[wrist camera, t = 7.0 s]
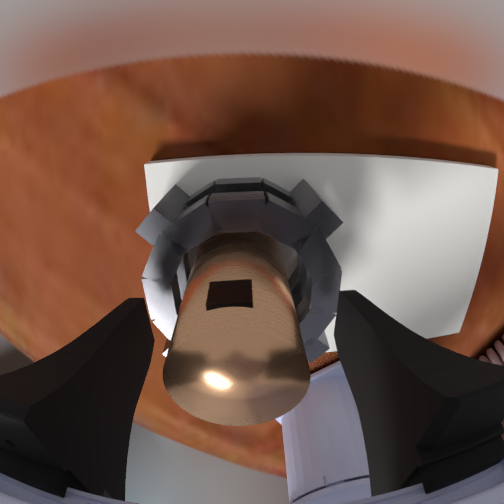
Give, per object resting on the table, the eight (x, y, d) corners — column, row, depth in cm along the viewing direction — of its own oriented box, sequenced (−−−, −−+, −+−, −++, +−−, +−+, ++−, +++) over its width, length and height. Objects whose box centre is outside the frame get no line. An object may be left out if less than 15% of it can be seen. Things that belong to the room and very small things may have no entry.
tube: (279, 281, 17) (306, 420, 9) (205, 286, 17) (180, 426, 9) (277, 206, 15) (314, 318, 7) (194, 213, 15) (145, 327, 7)
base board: (488, 165, 15) (498, 169, 14) (453, 324, 20) (459, 332, 19) (150, 161, 15) (144, 164, 14) (180, 347, 20) (177, 357, 19)
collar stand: (322, 175, 15) (347, 197, 11) (315, 315, 18) (329, 362, 14) (156, 183, 15) (128, 207, 11) (177, 320, 18) (164, 368, 14)
